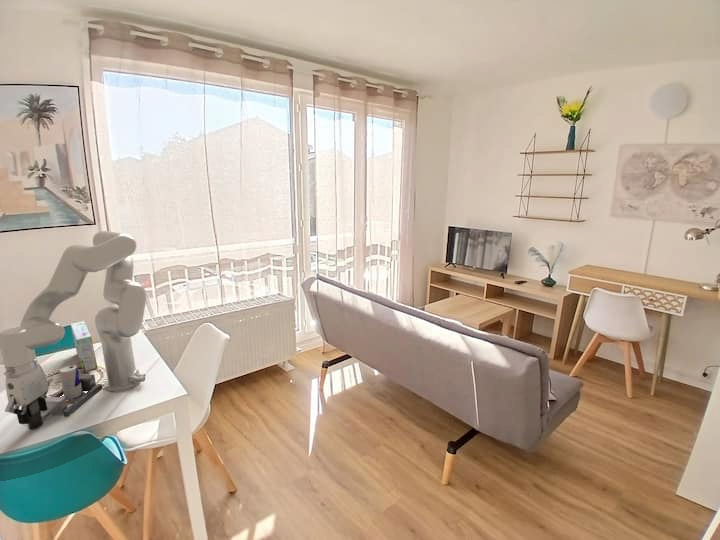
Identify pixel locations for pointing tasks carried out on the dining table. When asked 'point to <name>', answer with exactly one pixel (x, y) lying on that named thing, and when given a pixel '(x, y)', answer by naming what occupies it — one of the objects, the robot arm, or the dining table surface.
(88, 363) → the snack box
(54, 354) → the dining table surface
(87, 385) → the press
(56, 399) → the ram
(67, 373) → the energy drink
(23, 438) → the dining table surface
